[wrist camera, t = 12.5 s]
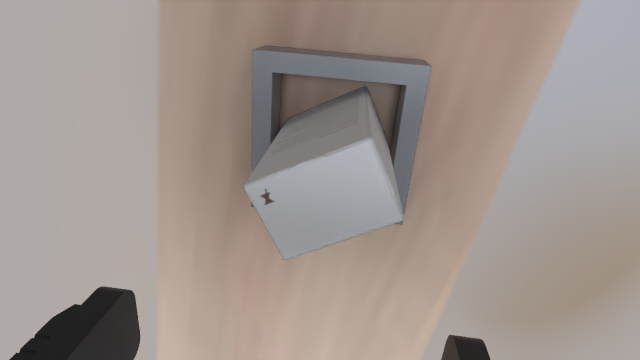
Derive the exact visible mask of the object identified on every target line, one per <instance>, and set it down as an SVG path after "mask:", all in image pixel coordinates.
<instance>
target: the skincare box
mask: <svg viewBox="0 0 640 360" xmlns="http://www.w3.org/2000/svg"><path fill="white" fill-rule="evenodd" d="M243 189H244V190H245V192H246V194H247V196H248V197H249V199H250V201H251V202H252V204H253V206H254V207H255V209H256V211H257V213H258V214H259V216H260V218H261V220H262V221H263V223H264V225H265V226H266V228H267V230H268V232H269V234H270V236H271V237H272V239H273V241H274V243H275V245H276V246H277V248H278V250H279V252H280V253H281V255H282V257H283V258H284V260H288V259H291V258H294V257H297V256H300V255H303V254H306V253H309V252H312V251H315V250H318V249H321V248H324V247H327V246H330V245H332V244H335V243H338V242H341V241H344V240H347V239H350V238H352V237H355V236H358V235H361V234H364V233H367V232H370V231H373V230H376V229H379V228H382V227H385V226H388V225H391V224H394V223H397V222H401V221H403V220H404V214H403V210H402V205H401V201H400V196H399V192H398V187H397V183H396V178H395V174H394V169H393V165H392V160H391V155H390V150H389V146H388V141H387V138H386V135H385V132H384V130H383V127H382V124H381V122H380V119H379V116H378V114H377V111H376V109H375V106H374V103H373V101H372V98H371V95H370V93H369V90H368V88H367V87H366V86H364V87H362V88H359V89H357V90H354V91H352V92H350V93H347V94H345V95H343V96H340V97H338V98H336V99H333V100H331V101H328V102H326V103H324V104H321V105H319V106H316V107H314V108H312V109H309V110H307V111H305V112H302V113H300V114H298V115H295V116H293V117H290V118H288V120H287V121H286V123H285V124H284V126H283V127H282V129H281V130H280V132H279V133H278V135H277V136H276V138H275V139H274V141H273V142H272V144H271V145H270V147H269V148H268V150H267V151H266V153H265V154H264V155H263V157H262V159H261V160H260V162H259V163H258V164H257V166H256V167H255V169H254V170H253V172H252V173H251V175H250V176H249V178H248V179H247V181H246V182H245V184H244V186H243Z"/></svg>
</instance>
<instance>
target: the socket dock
mask: <svg viewBox="0 0 640 360" xmlns="http://www.w3.org/2000/svg"><path fill="white" fill-rule="evenodd" d="M430 70H431V66H430V65H429V64H428V63H427V62H426V61H424V60H415V59H404V58H393V57H382V56H372V55H361V54H350V53H339V52H328V51H318V50H307V49H296V48H285V47H274V46H262V47H259V48H256V49H253V92H252V172H253V170H254V169H255V167H256V166H257V164H258V163H259V162H260V160H261V159H262V157H263V155H264V154H265V153H266V151H267V150H268V148H269V147H270V145H271V144H272V142H273V141H274V139H275V138H276V136H277V135H278V133H279V130H280V105H281V79H282V73H284V74H295V75H305V76H315V77H326V78H336V79H346V80H357V81H367V82H377V83H388V84H398V85H401V90H400V96H399V103H398V109H397V115H396V122H395V128H394V134H393V141H392V147H391V154H390V155H391V160H392V165H393V169H394V174H395V178H396V183H397V187H398V192H399V196H400V201H401V205H402V210H403V214H404V213H405V207H406V202H407V196H408V191H409V185H410V180H411V174H412V169H413V163H414V158H415V152H416V147H417V142H418V136H419V131H420V125H421V120H422V114H423V109H424V103H425V98H426V92H427V87H428V81H429V76H430ZM251 207H254V206H253V204H252V202H251ZM402 223H403V221H401V222H397V223H394V224H401V225H402Z"/></svg>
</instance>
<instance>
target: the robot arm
mask: <svg viewBox="0 0 640 360" xmlns="http://www.w3.org/2000/svg"><path fill="white" fill-rule="evenodd" d="M139 343H140V330H139V322H138V315H137V308H136V301H135V295H134V293H133V291H131V290H125V289H118V288H111V287H100V288H98V289H97V290H95V291H94V293H92V294H91V296H90V297H89V298H88V299H87V300H86V301H85V302H84V303H83V304H82V305H77V304H75V305H73V306H71V307H70V308H68V309H66V310H65V311H63V312H61V313H59V314H58V315H56V316H54V317H53V318H52V319H51V320H50V321H48V323H46V324H45V325H44V326H43V327H42V328H41V329H40V330H39V331H38V332H37V333H36V334H35V337H34V338H32V339H30V340H29V341H28V342H27V343H26V344H25V345H24V346H23V347H22V348H21V349H20V352H19V353H16V354H15V355H14V356H13V357H12V358H11V359H10V360H133V359H134V358H135V356H136V353H137V351H138V347H139ZM441 360H490V357H489V354H488V352H487V349H486V346H485V344H484V342H483V340H481V339H475V338H469V337H462V336H454V335H449V336H448V338H447V341H446V344H445V348H444V352H443V356H442V359H441Z"/></svg>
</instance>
